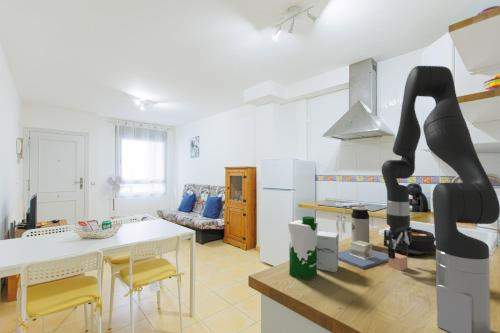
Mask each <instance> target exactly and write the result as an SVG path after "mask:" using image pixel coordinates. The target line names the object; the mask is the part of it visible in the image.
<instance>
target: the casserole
mask: <svg viewBox="0 0 500 333" xmlns="http://www.w3.org/2000/svg"><path fill="white" fill-rule="evenodd" d="M408 238H409V236H408ZM401 244H403V243H401V241H399V243H398V244H396V247H395V251H398V252H401ZM392 245H393V243H392ZM433 253H436V240H435V234H434V233H433V232H430V231H427V230H425V229H424V230H423V229H418V228H417V229H416V228H412V242H409V245H408V254H414V255H422V254H424V255H425V254H426V255H427V254H433Z"/></svg>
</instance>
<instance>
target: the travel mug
mask: <svg viewBox="0 0 500 333" xmlns="http://www.w3.org/2000/svg"><path fill="white" fill-rule="evenodd" d="M351 208H352V212H351V214H350V216H351V218H350V219H351V242H354V241H362V242H366V243H370V214H369V212H368V211H369V208H368V207H365V206H352V207H351ZM370 244H371V243H370Z"/></svg>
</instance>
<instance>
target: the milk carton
mask: <svg viewBox="0 0 500 333" xmlns="http://www.w3.org/2000/svg"><path fill="white" fill-rule="evenodd" d="M287 225H288V233H289V234H288V236H289V244H288V245H289V252H288V253H289V258H288V260H289V261H288V262H289V263H288V264H289V267H288V268H289V275H288V276H292V277H295V278H298V279H299V278H300V279H302V280H304V281H310V280H311V279H312V278H314V276H316V275H317V274H318V269H317V233H318V225H319V222H316V221H315V217H313V216H302V220H300V219H296V220H294V221H291V222H288V223H287Z"/></svg>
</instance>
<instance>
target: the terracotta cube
mask: <svg viewBox="0 0 500 333" xmlns="http://www.w3.org/2000/svg"><path fill="white" fill-rule="evenodd" d="M387 263H388V268H391V269H394V270H397V271H399V272H400V271H401V272H402V271H404V270H408V267H409V266H408V255H405V254H402V253H401V254H400V253H397V252H395V259H391V258H389V257H388V261H387Z"/></svg>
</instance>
